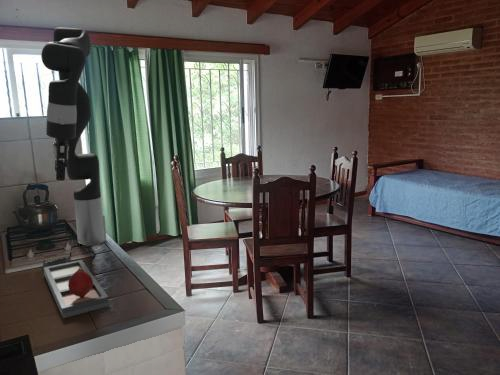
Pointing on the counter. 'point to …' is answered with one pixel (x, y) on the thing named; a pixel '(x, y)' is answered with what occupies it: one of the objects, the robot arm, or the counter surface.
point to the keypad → (59, 287)
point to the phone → (56, 262)
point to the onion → (80, 283)
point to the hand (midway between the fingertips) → (59, 175)
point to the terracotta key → (74, 299)
